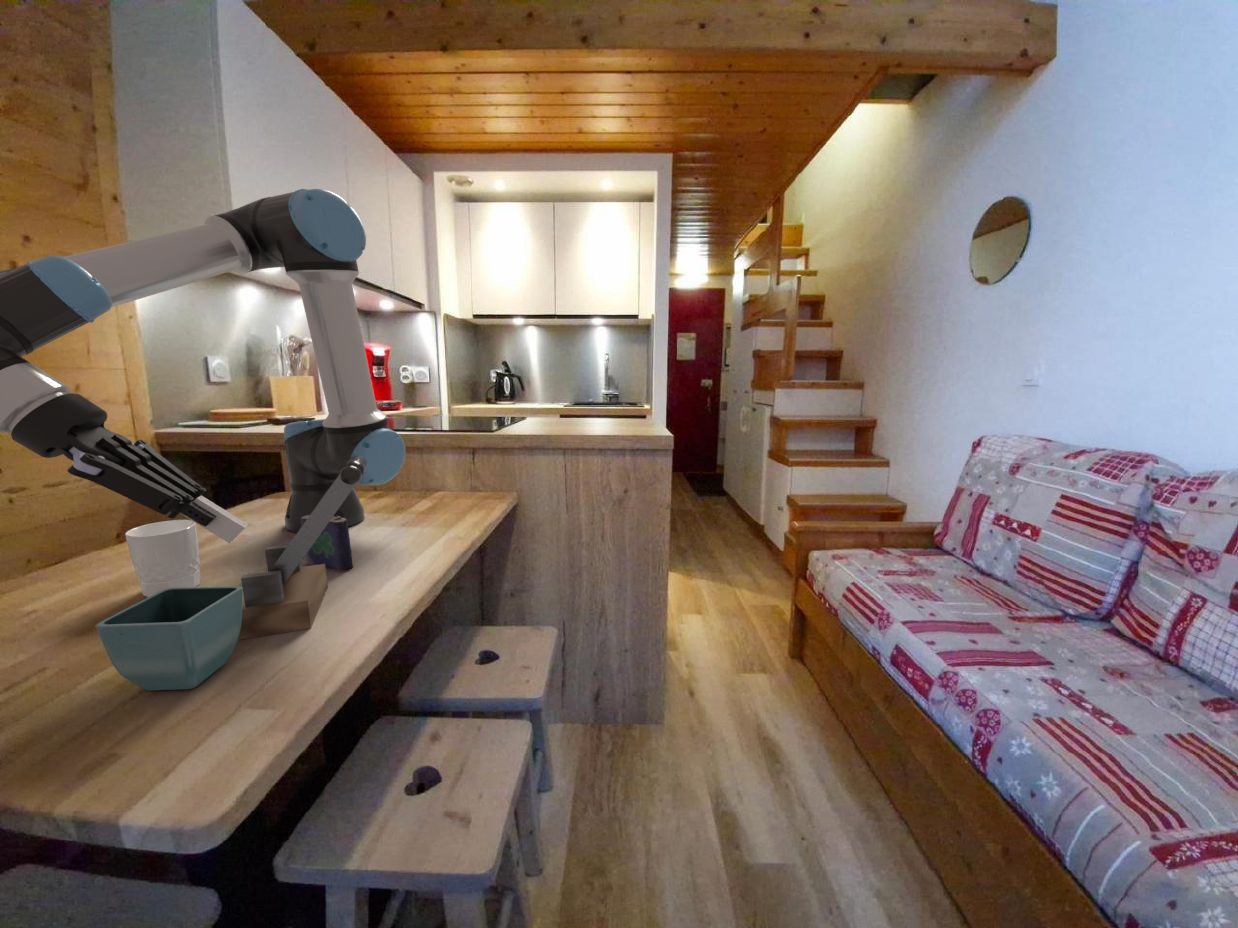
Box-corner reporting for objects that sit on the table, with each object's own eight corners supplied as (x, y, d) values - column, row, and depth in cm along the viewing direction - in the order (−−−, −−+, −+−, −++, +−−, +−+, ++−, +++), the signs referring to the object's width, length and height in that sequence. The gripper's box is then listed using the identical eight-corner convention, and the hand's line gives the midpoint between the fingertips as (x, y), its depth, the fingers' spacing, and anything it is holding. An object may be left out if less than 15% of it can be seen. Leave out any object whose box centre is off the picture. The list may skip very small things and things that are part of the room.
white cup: (165, 602, 71) (152, 538, 69) (123, 597, 73) (110, 534, 71) (218, 580, 79) (208, 521, 77) (179, 575, 80) (169, 518, 78)
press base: (219, 643, 61) (209, 584, 59) (251, 597, 73) (244, 547, 71) (311, 628, 65) (304, 572, 63) (327, 587, 76) (322, 539, 75)
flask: (302, 566, 84) (295, 507, 82) (317, 560, 87) (310, 503, 85) (345, 572, 82) (339, 512, 80) (358, 566, 85) (353, 507, 83)
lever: (250, 596, 62) (346, 463, 64) (270, 568, 71) (354, 452, 72) (271, 604, 63) (364, 474, 65) (288, 576, 72) (371, 461, 73)
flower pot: (179, 655, 58) (166, 586, 57) (255, 652, 59) (244, 584, 57) (108, 704, 50) (91, 625, 48) (198, 701, 50) (184, 623, 49)
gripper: (54, 430, 61) (234, 539, 70) (-33, 445, 49) (198, 574, 59) (101, 387, 62) (273, 501, 71) (28, 392, 50) (245, 527, 60)
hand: (239, 533), depth 65 cm, fingers closed
